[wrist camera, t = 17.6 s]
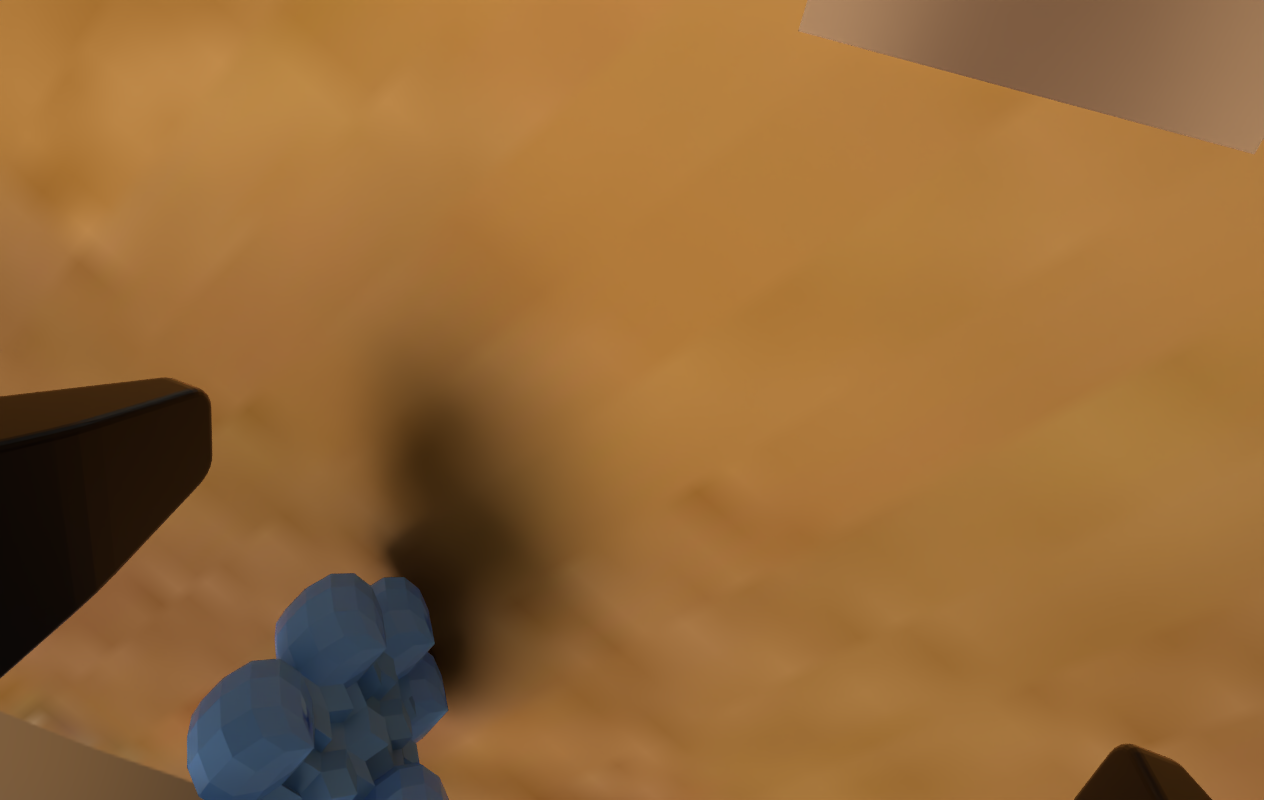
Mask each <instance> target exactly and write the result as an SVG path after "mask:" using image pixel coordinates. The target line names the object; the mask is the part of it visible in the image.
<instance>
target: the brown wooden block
mask: <svg viewBox="0 0 1264 800" xmlns="http://www.w3.org/2000/svg"><path fill="white" fill-rule="evenodd" d="M798 31H800V32H803V33H807V34H811V35H814V36H818V37H822V38H826V39H829V40H833V41H837V42H840V43H844V44H848V45H851V46H855V47H859V48H863V49H866V50H870V51H874V52H877V53H881V54H885V55H888V56H892V57H896V58H900V59H903V60H907V61H911V62H914V63H918V64H922V65H926V66H929V67H933V68H937V69H940V70H944V71H948V72H951V73H955V74H959V75H963V76H966V77H970V78H974V79H977V80H981V81H985V82H988V83H992V84H996V85H1000V86H1003V87H1007V88H1011V89H1014V90H1018V91H1022V92H1026V93H1029V94H1033V95H1037V96H1040V97H1044V98H1048V99H1051V100H1055V101H1059V102H1063V103H1066V104H1070V105H1074V106H1077V107H1081V108H1085V109H1088V110H1092V111H1096V112H1100V113H1103V114H1107V115H1111V116H1114V117H1118V118H1122V119H1126V120H1129V121H1133V122H1137V123H1140V124H1144V125H1148V126H1151V127H1155V128H1159V129H1163V130H1166V131H1170V132H1174V133H1177V134H1181V135H1185V136H1188V137H1192V138H1196V139H1200V140H1203V141H1207V142H1211V143H1214V144H1218V145H1222V146H1225V147H1229V148H1233V149H1237V150H1240V151H1244V152H1248V153H1251V154H1255V152H1256V151H1257V149H1258V147H1259V146H1260V144H1261V142H1262V140H1263V139H1264V0H808V1H807V4H806V7H805V11H804V14H803V17H802V20H801V24H800V27H799V30H798Z"/></svg>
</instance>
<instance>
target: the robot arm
mask: <svg viewBox="0 0 1264 800" xmlns="http://www.w3.org/2000/svg"><path fill="white" fill-rule="evenodd" d="M211 461H212V422H211V402H210V399H209V397H208V395H207V394H206V393H205V392H204V391H203V390H201V389H199V388H197V387H194V386H192V385H189V384H186V383H184V382H181V381H178V380H176V379H172V378H155V379H146V380H138V381H129V382H121V383H112V384H104V385H95V386H86V387H78V388H69V389H61V390H52V391H43V392H35V393H26V394H18V395H9V396H0V678H1V677H3V676H4V675H5V674H6V673H7V672H8V671H9V670H10V669H12V668H13V667H14V666H15V665H16V664H17V663H18V662H20V661H21V660H22V659H23V658H24V657H25V656H26V655H27V654H29V653H30V652H31V651H32V650H33V649H34V648H35V647H37V646H38V645H39V644H40V643H41V642H42V641H43V640H44V639H46V638H47V637H48V636H49V635H50V634H51V633H52V632H54V631H55V630H56V629H57V628H58V627H59V626H60V625H61V624H63V623H64V622H65V621H66V620H67V619H68V618H69V617H71V616H72V615H73V614H74V613H75V612H76V611H77V610H78V609H79V608H81V607H82V606H83V605H84V604H85V603H86V602H87V601H88V600H89V599H90V598H91V597H92V596H94V595H95V594H96V593H97V592H98V591H99V590H100V589H101V588H102V587H103V586H104V585H105V584H106V583H107V582H108V581H109V580H110V579H111V578H112V577H113V576H114V575H115V574H116V573H117V572H118V570H119V569H120V568H121V567H122V566H123V565H124V564H125V563H126V562H127V561H128V560H129V559H130V558H131V557H132V556H133V555H134V553H135V552H136V551H137V550H138V549H139V548H140V547H141V546H142V545H143V544H144V543H145V542H146V541H147V540H148V539H149V537H150V536H151V535H152V534H153V533H154V532H155V531H156V530H157V529H158V528H159V527H160V526H161V525H162V524H163V523H164V522H165V520H166V519H167V518H168V517H169V516H170V515H171V514H172V513H173V512H174V511H175V510H176V509H177V508H178V507H179V506H180V505H181V503H182V502H183V501H184V500H185V499H186V498H187V497H188V496H189V495H190V494H191V493H192V492H193V491H194V490H195V489H196V487H197V486H198V485H199V484H200V483H201V482H202V481H203V479H204V478H205V476H206V475H207V473H208V471H209V468H210V466H211ZM1074 800H1212V799H1211V798H1210V797H1209V796H1208V795H1207V794H1206V792H1205V791H1204V790H1203V789H1202V788H1201V787H1200V786H1199V785H1198V784H1197V783H1196V781H1195V780H1194V779H1193V778H1192V777H1191V776H1190V775H1189V774H1188V773H1187V771H1186V770H1185V769H1184V768H1183V767H1182V766H1181V765H1180V764H1178V763H1177V762H1175V761H1174V760H1172V759H1170V758H1167V757H1165V756H1162V755H1160V754H1157V753H1154V752H1152V751H1149V750H1146V749H1144V748H1141V747H1139V746H1136V745H1133V744H1122V745H1119V746H1117V747H1116V748H1114V749H1113V750H1112V751H1111V752H1110V753H1109V755H1108V756H1107V757H1106V759H1105V760H1104V761H1103V762H1102V764H1101V765H1100V766H1099V768H1098V769H1097V770H1096V771H1095V773H1094V774H1093V775H1092V777H1091V778H1090V779H1089V781H1088V782H1087V783H1086V784H1085V786H1084V787H1083V788H1082V790H1081V791H1080V792H1079V793H1078V795H1077V796H1076V797H1075V799H1074Z"/></svg>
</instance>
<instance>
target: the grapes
mask: <svg viewBox="0 0 1264 800" xmlns="http://www.w3.org/2000/svg"><path fill="white" fill-rule="evenodd" d="M434 644H435V642H434V636H433V631H432V626H431V620H430V615H429V610H428V608H427V605H426V603H425V601H424V598H423V596H422V594H421V592H420V589H419V588H417V587H416V586H415V585H414V584H412V583H411V582H410V581H409V580H407V579H406V578H405V577H388V578H382V579H380V580H379V581H377V582H375V583H374V584H372V585H369V584H367V583H366V582H365V581H363V580H362V579H361V578H360V577H358V576H357V575H356V574H354V573H349V574H330V575H328V576H327V577H325V578H323V579H321V580H320V581H318V582H316V583H314V584H313V585H311V586H309V587H307V588H306V589H304V590H303V592H302V593H301V594H300V595H299V596H298V597H297V598H296V599H295V600H294V601H293V602H292V603H291V604H290V605H289V606H288V607H287V608H286V609H285V611H284V612H283V614H282V615H281V617H280V618H279V620H278V621H277V623H276V630H275V647H276V659H269V660H257V661H251V662H249V663H247V664H246V665H244V666H242V667H241V668H239V669H237V670H236V671H234V672H232V673H231V674H229V675H227V676H226V677H224V678H223V679H222V680H221V681H220V682H219V683H218V684H217V685H216V686H215V687H214V688H213V689H212V690H211V691H210V692H209V693H208V694H207V695H206V696H205V697H204V698H203V700H202V701H201V702H200V704H199V705H198V707H197V708H196V710H195V711H194V713H193V714H192V717H191V722H190V726H189V731H188V735H187V768H188V770H189V773H190V776H191V778H192V781H193V783H194V786H195V788H196V791H197V793H198V796H199V797H200V798H202V799H204V800H449V799H448V796H447V794H446V792H445V789H444V787H443V785H442V782H441V780H440V778H439V777H438V776H437V775H436V774H434V773H433V772H431V771H430V770H428V769H427V768H426V767H424V766H423V765H421V764H419V758H418V751H417V745H416V744H415V743H417V742H418V741H419V740H421V739H422V738H423V737H424V736H425V735H426V734H427V733H428V732H429V731H430V730H431V729H432V728H433V726H434V725H435V724H436V723H437V722H438V721H439V720H440V719H441V718H442V717H443V716H444V714H445V713H446V712H447V711H448V706H447V701H446V695H445V690H444V685H443V680H442V675H441V673H440V671H439V668H438V666H437V664H436V662H435V659H434V657H433V656H432V655H431V654H430V653H428V651H429V650H430V649H431V647H432V646H433V645H434Z"/></svg>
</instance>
